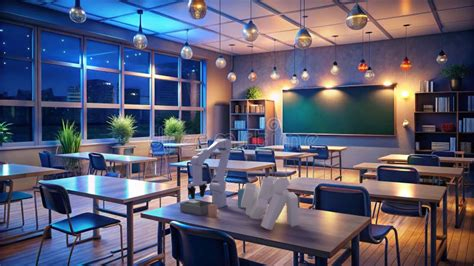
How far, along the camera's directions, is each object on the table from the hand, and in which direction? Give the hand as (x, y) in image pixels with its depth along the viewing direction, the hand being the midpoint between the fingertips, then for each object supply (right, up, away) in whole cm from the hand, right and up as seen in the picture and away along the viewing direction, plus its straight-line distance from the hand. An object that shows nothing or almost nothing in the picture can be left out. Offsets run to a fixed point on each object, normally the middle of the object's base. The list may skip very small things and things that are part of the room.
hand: (197, 197), depth 226 cm
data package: (+31, -8, +9) cm, 33 cm away
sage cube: (-2, -8, +3) cm, 9 cm away
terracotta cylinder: (+10, -9, -12) cm, 18 cm away
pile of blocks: (+41, -10, -26) cm, 49 cm away
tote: (0, -8, +1) cm, 8 cm away
